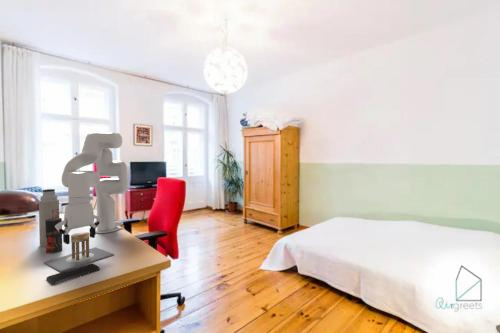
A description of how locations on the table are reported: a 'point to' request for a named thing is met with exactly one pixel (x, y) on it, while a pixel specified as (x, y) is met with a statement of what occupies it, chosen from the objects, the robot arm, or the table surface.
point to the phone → (72, 274)
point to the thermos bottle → (47, 212)
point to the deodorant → (53, 236)
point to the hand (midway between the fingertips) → (80, 240)
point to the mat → (70, 263)
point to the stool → (76, 239)
